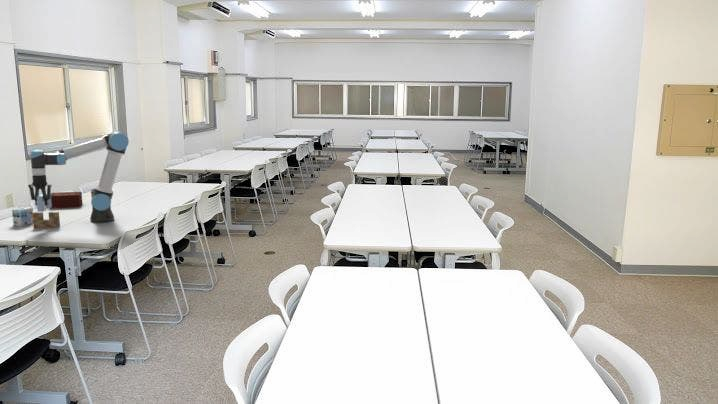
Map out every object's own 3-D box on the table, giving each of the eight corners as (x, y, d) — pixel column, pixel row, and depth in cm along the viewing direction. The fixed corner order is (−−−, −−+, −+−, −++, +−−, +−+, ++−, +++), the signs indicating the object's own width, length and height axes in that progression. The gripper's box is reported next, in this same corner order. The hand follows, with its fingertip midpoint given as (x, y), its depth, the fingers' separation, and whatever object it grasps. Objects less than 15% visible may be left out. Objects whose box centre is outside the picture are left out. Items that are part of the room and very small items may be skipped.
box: (82, 203, 424) (81, 191, 422) (80, 207, 409) (79, 194, 407) (53, 204, 417) (52, 192, 415) (49, 208, 402) (48, 195, 400)
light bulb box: (21, 226, 347) (20, 210, 345) (12, 225, 348) (11, 209, 346) (34, 222, 357) (33, 207, 355) (26, 222, 359) (24, 206, 357)
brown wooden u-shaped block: (60, 226, 349) (58, 211, 347) (58, 227, 346) (57, 212, 345) (35, 226, 347) (34, 212, 345) (33, 227, 344) (32, 213, 342)
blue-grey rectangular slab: (46, 207, 351) (45, 192, 349) (51, 207, 351) (50, 192, 349) (37, 211, 337) (36, 196, 335) (42, 211, 338) (41, 196, 336)
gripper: (55, 173, 340) (57, 209, 345) (28, 173, 338) (31, 209, 342) (50, 175, 333) (53, 211, 338) (22, 175, 330) (25, 211, 335)
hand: (42, 210), depth 340 cm, fingers closed on blue-grey rectangular slab, 3 cm apart
